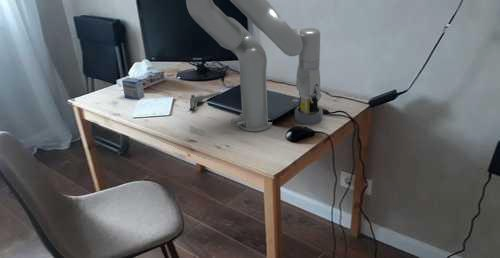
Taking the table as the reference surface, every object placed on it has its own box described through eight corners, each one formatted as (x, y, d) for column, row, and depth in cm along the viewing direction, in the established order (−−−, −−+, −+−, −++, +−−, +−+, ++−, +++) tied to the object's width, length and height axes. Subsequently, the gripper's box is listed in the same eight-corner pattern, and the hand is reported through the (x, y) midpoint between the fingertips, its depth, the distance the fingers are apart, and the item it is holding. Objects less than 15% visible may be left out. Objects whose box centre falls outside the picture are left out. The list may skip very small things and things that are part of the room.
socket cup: (304, 126, 157) (304, 117, 155) (290, 116, 165) (290, 107, 164) (327, 120, 161) (327, 111, 159) (312, 110, 169) (312, 102, 167)
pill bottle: (318, 112, 163) (319, 85, 158) (313, 118, 159) (314, 91, 154) (303, 110, 166) (303, 83, 161) (298, 116, 161) (298, 89, 156)
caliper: (192, 110, 177) (190, 96, 174) (190, 109, 177) (189, 96, 174) (222, 93, 191) (221, 80, 188) (220, 93, 192) (219, 80, 189)
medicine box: (124, 98, 192) (121, 80, 188) (130, 94, 195) (127, 77, 192) (139, 100, 189) (135, 82, 185) (144, 96, 193) (141, 78, 189)
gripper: (288, 58, 159) (288, 102, 167) (313, 71, 145) (312, 118, 153) (305, 55, 161) (304, 98, 169) (331, 67, 147) (329, 114, 155)
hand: (308, 108), depth 161 cm, fingers closed on pill bottle, 6 cm apart
